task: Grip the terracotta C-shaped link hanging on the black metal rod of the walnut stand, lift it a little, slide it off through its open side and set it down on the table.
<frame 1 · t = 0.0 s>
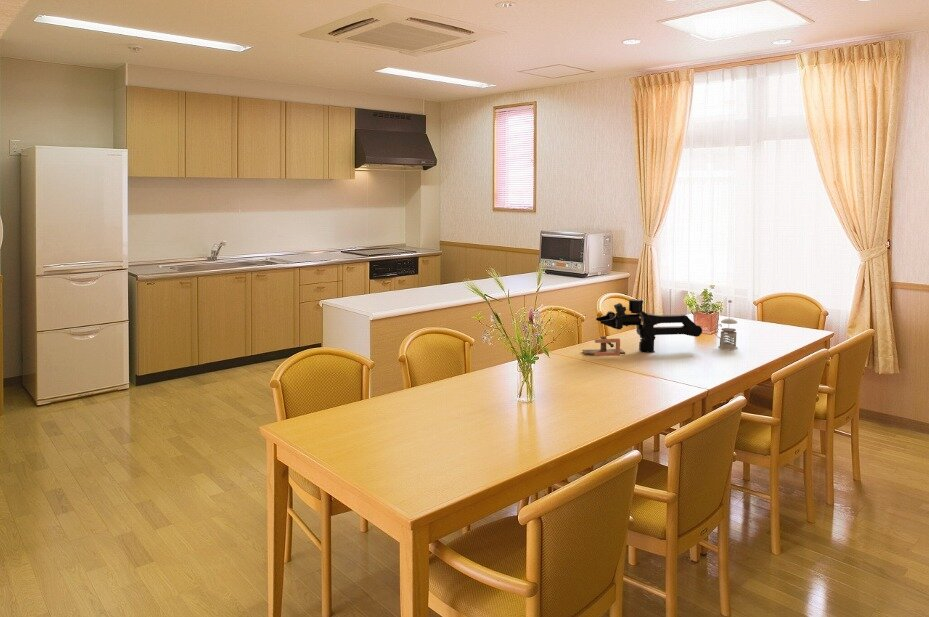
hand: (598, 320, 356), 17 cm above the table, tool horizontal, fingers open, 9 cm apart
french press: (726, 348, 366), on the table
c link: (607, 355, 345), point 2 cm above the table, touching stand
stand: (603, 353, 356), on the table
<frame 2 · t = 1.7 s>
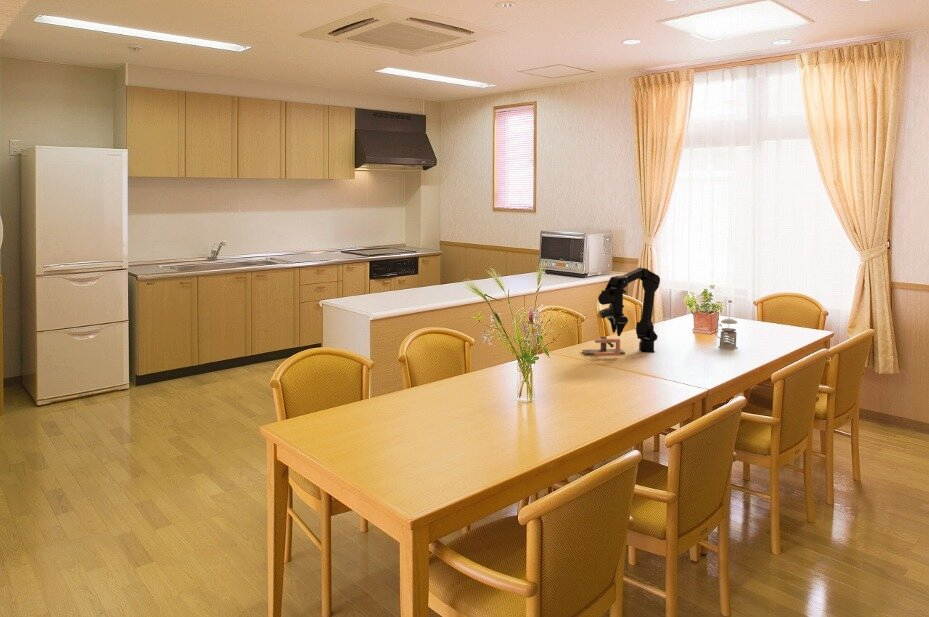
hand: (616, 334, 344), 12 cm above the table, tool pointing down, fingers open, 9 cm apart
nothing on the table moved.
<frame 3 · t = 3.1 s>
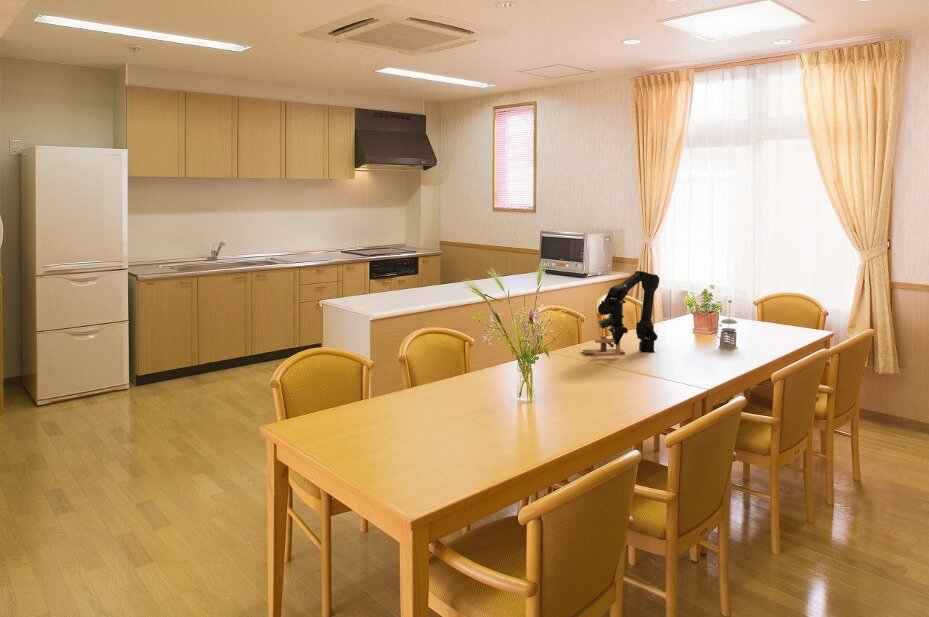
hand: (616, 344, 345), 7 cm above the table, tool pointing down, fingers closed on c link, 2 cm apart
c link: (607, 355, 345), point 2 cm above the table, touching gripper, stand
everything else where it was.
when the fingers open (7 cm above the table, at t = 6.8 s): c link drops 2 cm, on the table.
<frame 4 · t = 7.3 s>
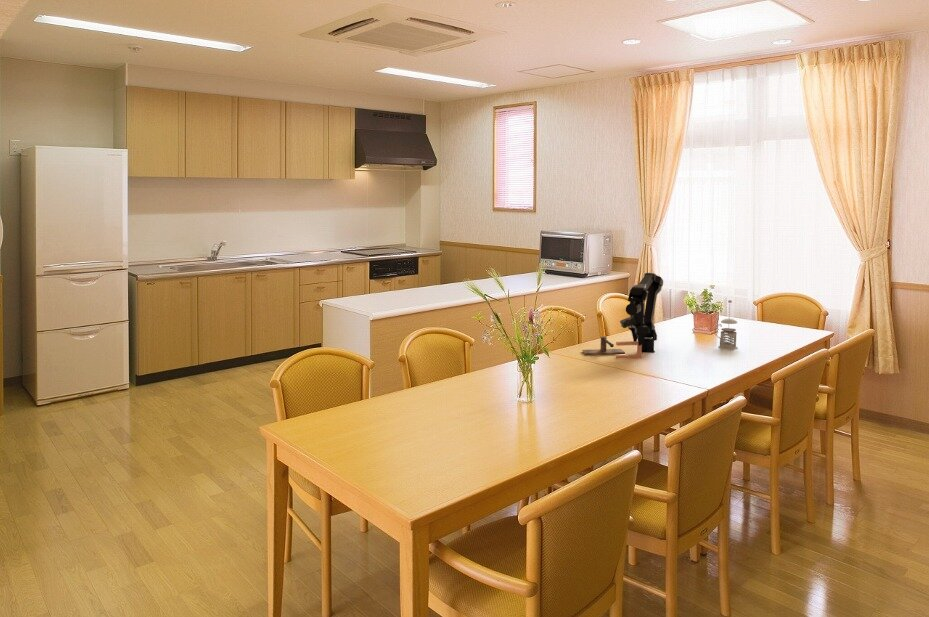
hand: (637, 343, 345), 7 cm above the table, tool pointing down, fingers open, 8 cm apart
c link: (628, 357, 346), on the table
everything else where it was.
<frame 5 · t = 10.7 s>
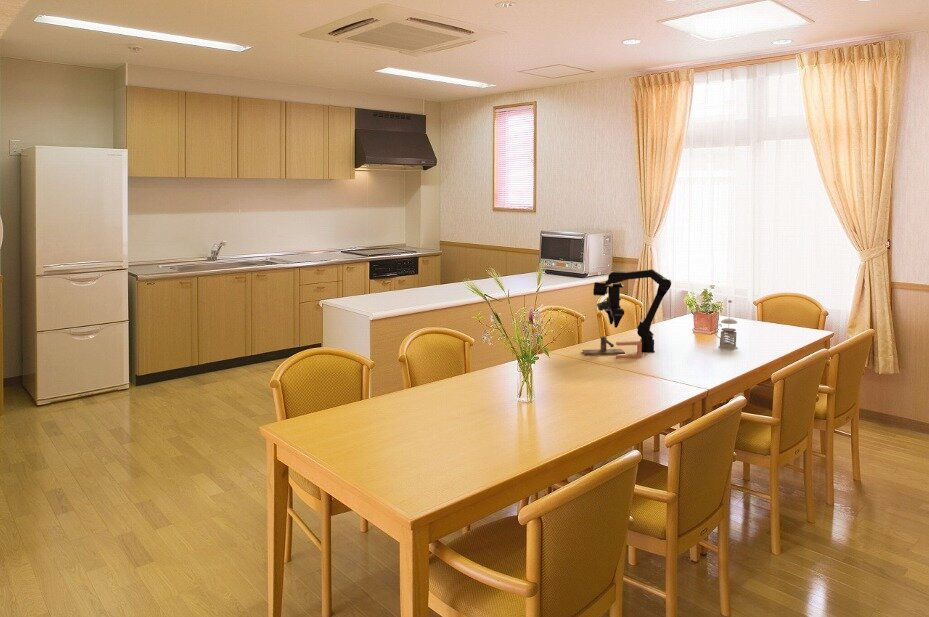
hand: (613, 325, 363), 12 cm above the table, tool pointing down, fingers open, 9 cm apart
nothing on the table moved.
at the end: c link touching table; c link inside the target area (0.2 cm from its centre), on the table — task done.
